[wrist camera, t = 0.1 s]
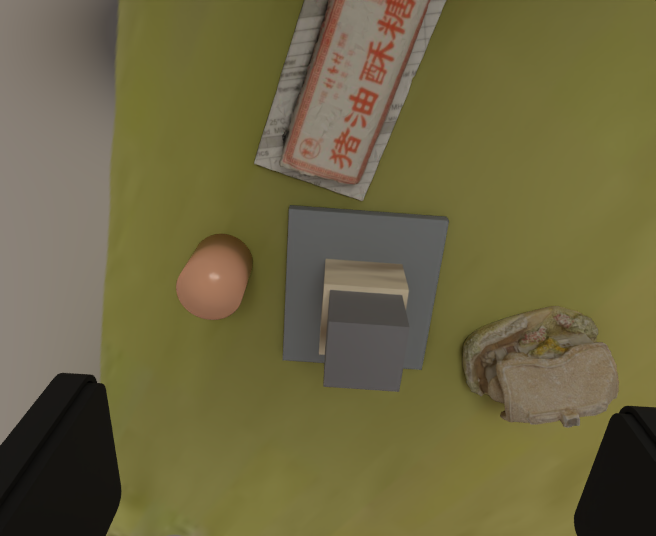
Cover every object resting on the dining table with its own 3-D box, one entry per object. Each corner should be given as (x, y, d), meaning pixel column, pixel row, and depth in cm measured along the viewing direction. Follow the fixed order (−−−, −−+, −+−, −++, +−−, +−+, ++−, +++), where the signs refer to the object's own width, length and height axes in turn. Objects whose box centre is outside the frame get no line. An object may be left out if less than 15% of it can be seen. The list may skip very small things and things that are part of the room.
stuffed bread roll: (605, 296, 50) (664, 358, 41) (600, 388, 55) (652, 462, 46) (457, 317, 51) (482, 381, 42) (464, 406, 56) (489, 481, 47)
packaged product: (325, -84, 33) (466, -23, 35) (326, -72, 38) (451, -18, 39) (246, 175, 41) (364, 217, 42) (255, 159, 45) (362, 198, 46)
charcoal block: (329, 289, 43) (328, 321, 39) (402, 294, 43) (409, 327, 39) (324, 350, 46) (323, 386, 41) (393, 354, 46) (399, 391, 41)
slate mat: (290, 205, 46) (289, 208, 45) (446, 216, 46) (449, 220, 46) (283, 354, 53) (282, 360, 52) (420, 363, 53) (421, 369, 52)
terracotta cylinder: (193, 231, 48) (174, 259, 42) (253, 236, 48) (242, 263, 42) (195, 284, 50) (178, 317, 45) (252, 289, 50) (242, 321, 45)
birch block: (325, 258, 47) (324, 284, 43) (402, 264, 47) (409, 290, 43) (320, 324, 50) (318, 354, 46) (392, 329, 50) (398, 359, 46)
